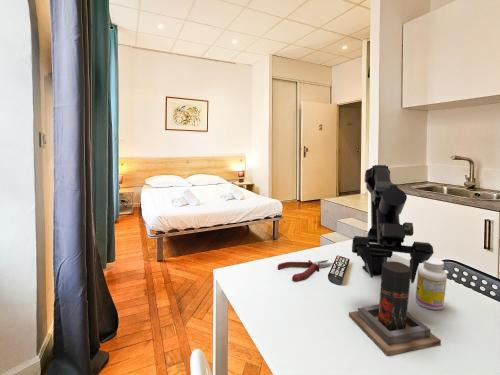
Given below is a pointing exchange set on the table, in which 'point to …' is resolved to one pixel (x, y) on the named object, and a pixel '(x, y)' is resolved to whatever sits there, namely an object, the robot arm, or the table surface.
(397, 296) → the deodorant
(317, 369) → the table surface
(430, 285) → the supplement bottle
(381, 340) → the socket board
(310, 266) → the pliers
